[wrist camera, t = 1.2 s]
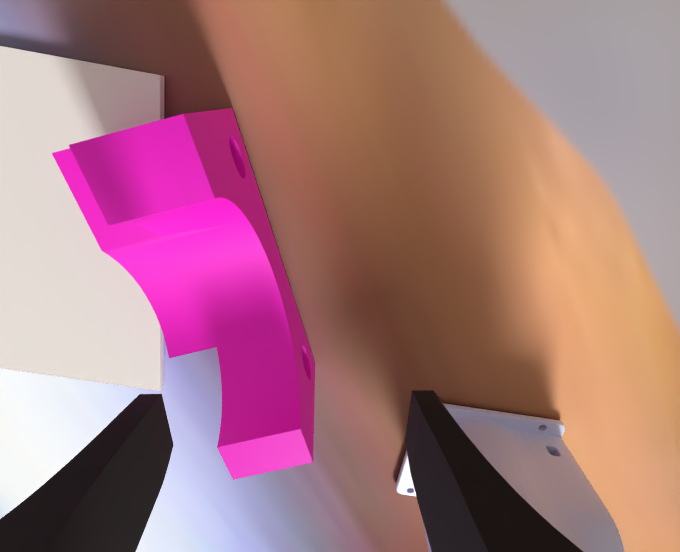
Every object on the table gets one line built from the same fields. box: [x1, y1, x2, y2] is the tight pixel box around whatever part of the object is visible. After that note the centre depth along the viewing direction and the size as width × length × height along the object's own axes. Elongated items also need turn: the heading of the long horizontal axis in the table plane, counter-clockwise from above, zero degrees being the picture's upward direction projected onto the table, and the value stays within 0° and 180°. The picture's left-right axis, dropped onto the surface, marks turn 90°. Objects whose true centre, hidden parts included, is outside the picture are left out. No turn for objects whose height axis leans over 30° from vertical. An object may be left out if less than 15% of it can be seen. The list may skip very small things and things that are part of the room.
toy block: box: [52, 108, 315, 479], centre depth 19 cm, size 15×6×8 cm, turn 14°
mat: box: [0, 46, 164, 391], centre depth 22 cm, size 10×18×1 cm, turn 170°
